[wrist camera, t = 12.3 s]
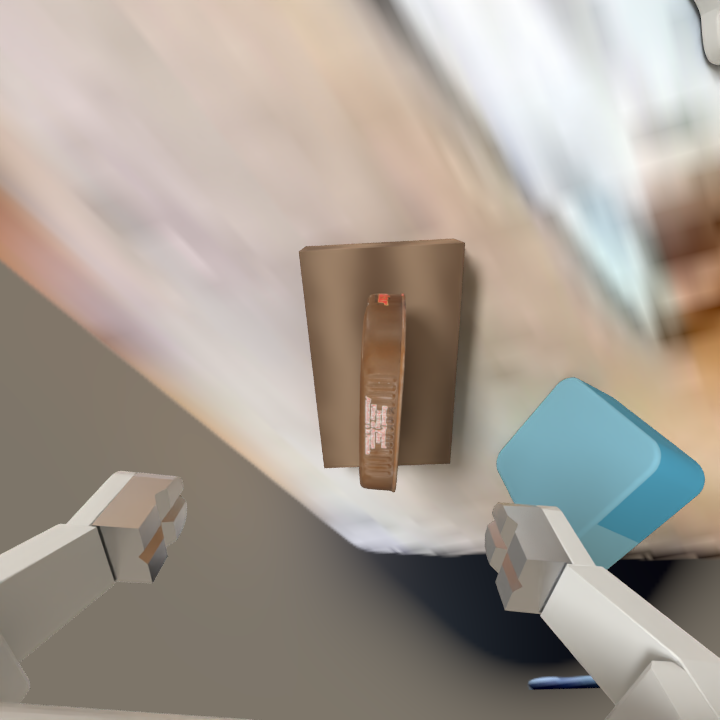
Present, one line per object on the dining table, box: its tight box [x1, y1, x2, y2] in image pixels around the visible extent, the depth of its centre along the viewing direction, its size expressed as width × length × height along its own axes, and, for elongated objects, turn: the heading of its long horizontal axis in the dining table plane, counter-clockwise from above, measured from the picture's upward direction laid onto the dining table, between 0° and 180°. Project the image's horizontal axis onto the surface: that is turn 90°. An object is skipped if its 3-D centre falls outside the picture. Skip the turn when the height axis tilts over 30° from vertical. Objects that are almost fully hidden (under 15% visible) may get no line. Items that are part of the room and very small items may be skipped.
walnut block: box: [299, 239, 465, 468], centre depth 31 cm, size 12×20×4 cm, turn 3°
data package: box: [497, 378, 705, 570], centre depth 30 cm, size 12×4×12 cm, turn 153°
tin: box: [359, 293, 406, 492], centre depth 25 cm, size 15×3×8 cm, turn 179°
